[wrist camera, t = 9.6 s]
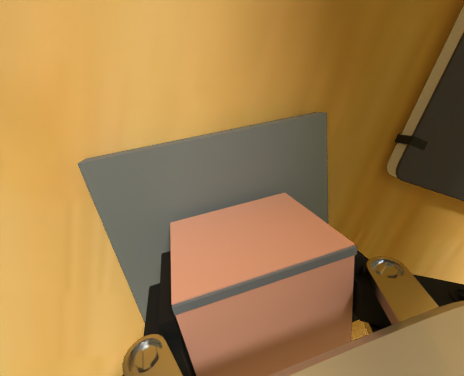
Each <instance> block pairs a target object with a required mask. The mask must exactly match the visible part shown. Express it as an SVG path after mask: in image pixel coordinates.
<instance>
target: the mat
mask: <svg viewBox="0 0 464 376" xmlns="http://www.w3.org/2000/svg"><path fill="white" fill-rule="evenodd" d="M78 166H79V168H80V171H81V173H82V175H83V178H84V180H85V182H86V185H87V187H88V190H89V192H90V194H91V197H92V199H93V201H94V204H95V206H96V208H97V211H98V213H99V216H100V218H101V220H102V223H103V225H104V227H105V230H106V232H107V234H108V237H109V239H110V242H111V244H112V246H113V249H114V251H115V253H116V256H117V258H118V261H119V263H120V265H121V268H122V270H123V272H124V275H125V277H126V279H127V282H128V284H129V287H130V289H131V291H132V294H133V296H134V298H135V301H136V303H137V305H138V308H139V310H140V313H141V315H142V317H143V320H144V322H145V321H146V311H147V302H148V293H149V287H150V286H152V285H155V284H158V283H160V273H161V254H162V253H165V252H168V251H171V242H170V223H171V222H175V221H178V220H182V219H186V218H190V217H193V216H197V215H201V214H205V213H209V212H212V211H216V210H220V209H224V208H228V207H231V206H235V205H239V204H243V203H247V202H250V201H254V200H258V199H262V198H266V197H269V196H273V195H277V194H281V193H286V194H288V195H289V196H290V197H292V198H293V199H295V200H296V201H297V202H299V203H300V204H301V205H303V206H304V207H305V208H307V209H308V210H310V211H311V212H312V213H314V214H315V215H316V216H318V217H319V218H320V219H322V220H323V221H324V222H326V223H327V224H328V175H327V113H323V112H314V113H309V114H304V115H299V116H295V117H290V118H285V119H280V120H275V121H270V122H265V123H260V124H255V125H250V126H245V127H240V128H235V129H230V130H226V131H221V132H216V133H211V134H206V135H201V136H196V137H191V138H186V139H181V140H176V141H171V142H166V143H161V144H156V145H152V146H147V147H142V148H137V149H132V150H127V151H122V152H117V153H112V154H107V155H102V156H97V157H92V158H87V159H84V160H83V161H81V162H80V163H78Z"/></svg>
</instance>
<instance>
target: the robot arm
mask: <svg viewBox="0 0 464 376" xmlns="http://www.w3.org/2000/svg"><path fill="white" fill-rule="evenodd" d="M359 319H360V321H363V322H364V325H365V327H366V329H367V332H368V334H369V335H366V336H364V337H361V338H359V339H356V340H354V341H351V342H349V343H346V344H344V345H342V346H339V347H337V348H334V349H332V350H329V351H327V352H325V353H322V354H320V355H317V356H315V357H312V358H310V359H308V360H305V361H303V362H300V363H298V364H296V365H293V366H291V367H288V368H286V369H284V370H281V371H279V372H276V373H274V374H272V375H269V376H464V285H463V284H458V283H453V282H448V281H443V280H438V279H433V278H428V277H423V276H418V275H413V274H412V273H411V272H410V271H409V270H408V268H407V267H406V266H405V265H404V264H403V263H401V262H399V261H398V260H395V259H392V258H389V257H382V256H378V257H373V258H371V259H368V258H366V257H365V256H364V255H363V254H362V253H360V252H359V251H358V250H357V255H355V257H354V282H353V306H352V322H354V321H356V320H359ZM122 366H123V376H196V373H195V370H194V367H193V365H192V362H191V359H190V356H189V353H188V350H187V347H186V344H185V342H184V339H183V336H182V333H181V330H180V327H179V324H178V321H177V318H176V316H175V315H174V312H173V310H172V304H171V251H168V252H165V253H162V254H161V273H160V283H158V284H155V285H152V286H150V287H149V293H148V302H147V311H146V321H145V330H144V337H142V338H140V339H139V340H138V341H136V342H135V343H134V344H133V345H132V346H131V347H130V348H129V350H128V351H127V353H126V355H125V357H124V360H123V364H122Z"/></svg>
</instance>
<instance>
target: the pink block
mask: <svg viewBox="0 0 464 376" xmlns="http://www.w3.org/2000/svg"><path fill="white" fill-rule="evenodd" d="M170 242H171V304H172V310H173V312H174V315H175V316H176V318H177V321H178V324H179V327H180V330H181V333H182V336H183V339H184V342H185V344H186V347H187V350H188V353H189V356H190V359H191V362H192V365H193V367H194V370H195V373H196V376H269V375H272V374H274V373H276V372H279V371H281V370H284V369H286V368H288V367H291V366H293V365H296V364H298V363H300V362H303V361H305V360H308V359H310V358H312V357H315V356H317V355H320V354H322V353H325V352H327V351H329V350H332V349H334V348H337V347H339V346H342V345H344V344H346V343H349V342H351V331H352V306H353V282H354V257H355V255H357V246H355V244H354V243H353V242H352V241H350V240H349V239H348V238H346V237H345V236H344V235H342V234H341V233H339V232H338V231H337V230H335V229H334V228H333V227H331V226H330V225H329V224H327V223H326V222H324V221H323V220H322V219H320V218H319V217H318V216H316V215H315V214H314V213H312V212H311V211H310V210H308V209H307V208H305V207H304V206H303V205H301V204H300V203H299V202H297V201H296V200H295V199H293V198H292V197H290V196H289V195H288V194H286V193H281V194H277V195H273V196H269V197H266V198H262V199H258V200H254V201H250V202H247V203H243V204H239V205H235V206H231V207H228V208H224V209H220V210H216V211H212V212H209V213H205V214H201V215H197V216H193V217H190V218H186V219H182V220H178V221H175V222H171V223H170Z"/></svg>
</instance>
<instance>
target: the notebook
mask: <svg viewBox="0 0 464 376" xmlns="http://www.w3.org/2000/svg"><path fill="white" fill-rule="evenodd" d="M395 142H396V143H397V144H396V146H395V148H394V150H393V153H392V155H391V157H390V159H389V162H388V164H387V171H388V173H389V174H390V175H392V176H394V177H397V178H398V179H400V180H402V181H404V182H407V183H410V184H414V185H417V186H420V187H423V188H426V189H429V190H432V191H435V192H438V193H441V194H444V195H447V196H450V197H453V198H457V199H460V200H463V201H464V6H463V8H462V10H461V12H460V14H459V16H458V18H457V20H456V22H455V24H454V26H453V28H452V30H451V33H450V35H449V37H448V39H447V41H446V43H445V45H444V47H443V49H442V51H441V53H440V55H439V57H438V59H437V62H436V64H435V66H434V68H433V70H432V72H431V74H430V76H429V78H428V80H427V82H426V84H425V86H424V88H423V90H422V93H421V95H420V97H419V99H418V101H417V103H416V105H415V107H414V109H413V111H412V113H411V115H410V117H409V119H408V122H407V124H406V126H405V128H404V130H403V132H402V134H401V135H400V134H398V136H397V138H396V140H395Z"/></svg>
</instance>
